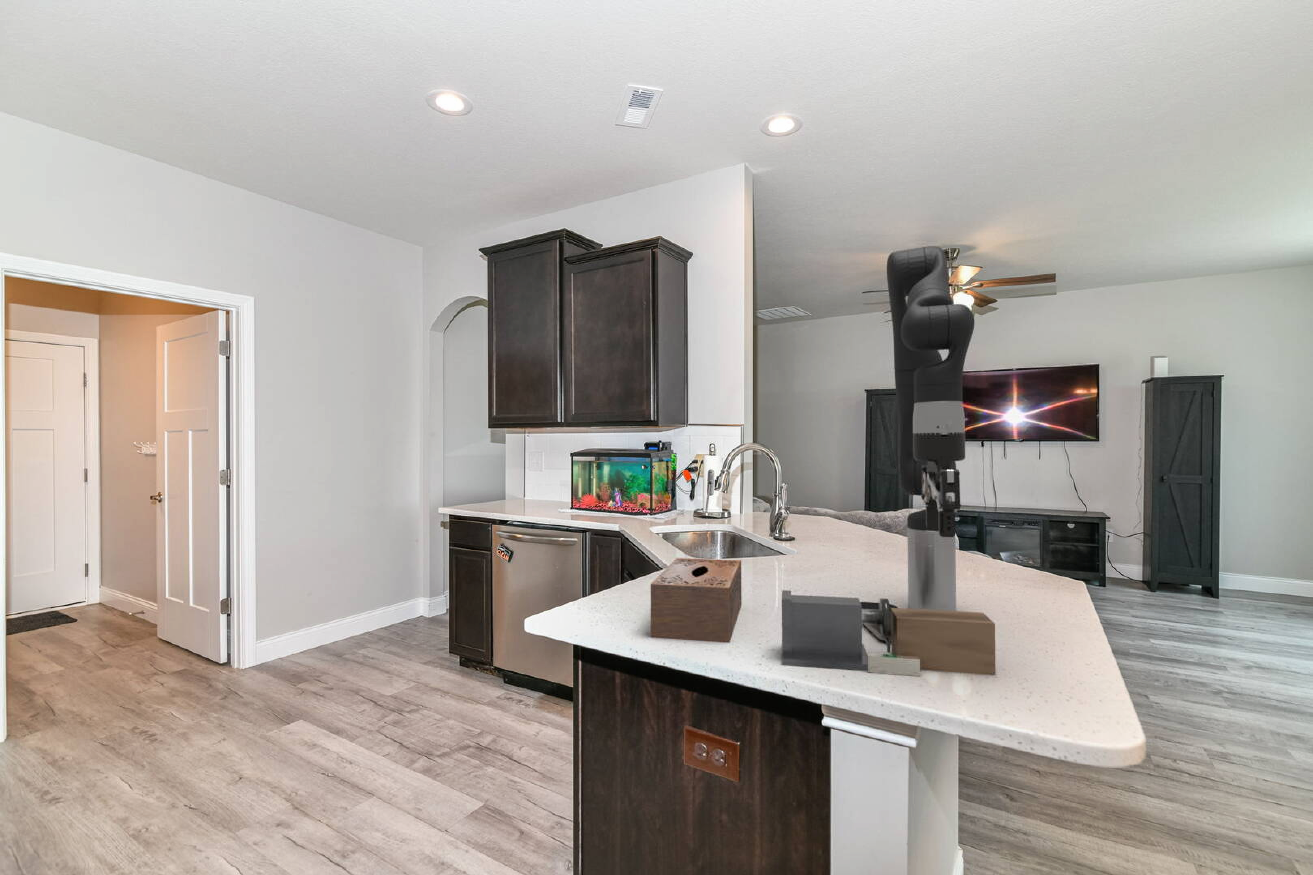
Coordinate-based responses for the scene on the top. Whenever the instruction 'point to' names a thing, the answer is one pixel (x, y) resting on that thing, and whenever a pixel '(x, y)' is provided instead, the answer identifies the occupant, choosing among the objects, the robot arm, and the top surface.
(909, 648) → the walnut block
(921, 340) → the robot arm
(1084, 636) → the top surface
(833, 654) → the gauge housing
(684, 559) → the tissue box cover
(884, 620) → the plunger
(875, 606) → the black curved shell
